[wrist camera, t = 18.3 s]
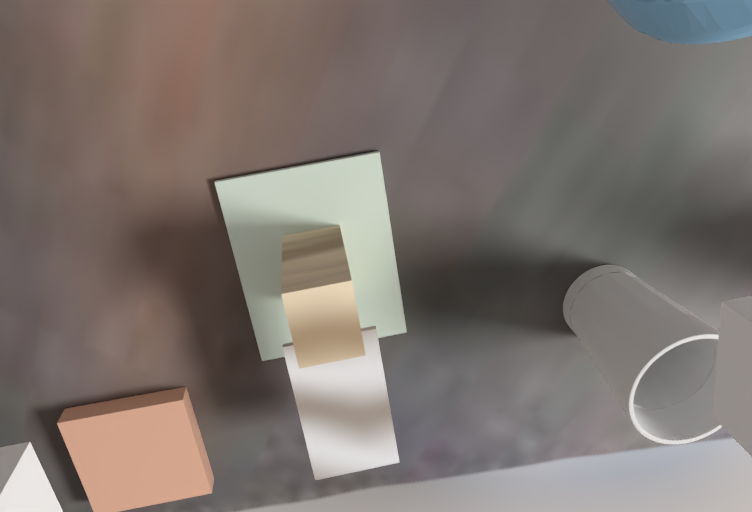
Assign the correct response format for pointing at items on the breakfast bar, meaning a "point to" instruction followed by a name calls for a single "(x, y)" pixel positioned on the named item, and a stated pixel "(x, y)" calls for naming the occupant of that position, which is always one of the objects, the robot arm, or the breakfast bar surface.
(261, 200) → the mat
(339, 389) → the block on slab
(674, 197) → the breakfast bar surface
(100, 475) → the tile
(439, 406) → the breakfast bar surface
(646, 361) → the cup
